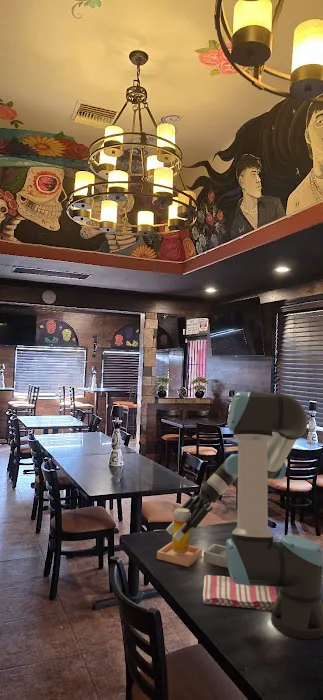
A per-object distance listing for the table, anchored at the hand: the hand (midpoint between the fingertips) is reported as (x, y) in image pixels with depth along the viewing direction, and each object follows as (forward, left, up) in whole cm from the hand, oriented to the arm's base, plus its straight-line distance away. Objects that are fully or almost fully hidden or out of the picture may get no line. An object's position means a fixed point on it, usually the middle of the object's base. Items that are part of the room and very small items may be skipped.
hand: (171, 535), depth 177 cm
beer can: (+3, -2, -6) cm, 7 cm away
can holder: (+9, -16, -8) cm, 20 cm away
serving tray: (+3, -2, -8) cm, 9 cm away
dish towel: (-13, -31, -9) cm, 35 cm away
